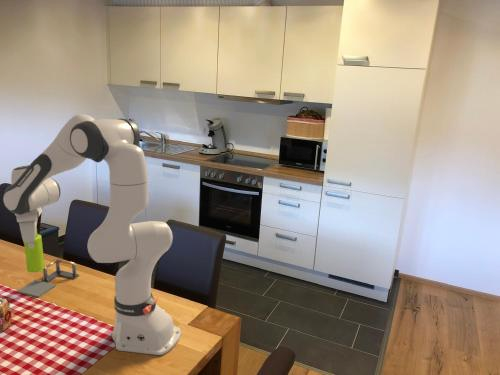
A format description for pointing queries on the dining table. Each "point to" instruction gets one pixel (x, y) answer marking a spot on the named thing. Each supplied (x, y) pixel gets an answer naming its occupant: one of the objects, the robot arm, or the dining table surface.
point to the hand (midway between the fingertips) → (32, 243)
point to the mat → (36, 288)
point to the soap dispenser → (35, 255)
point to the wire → (59, 271)
